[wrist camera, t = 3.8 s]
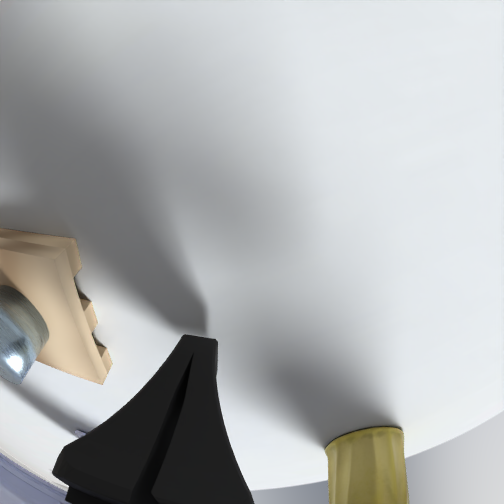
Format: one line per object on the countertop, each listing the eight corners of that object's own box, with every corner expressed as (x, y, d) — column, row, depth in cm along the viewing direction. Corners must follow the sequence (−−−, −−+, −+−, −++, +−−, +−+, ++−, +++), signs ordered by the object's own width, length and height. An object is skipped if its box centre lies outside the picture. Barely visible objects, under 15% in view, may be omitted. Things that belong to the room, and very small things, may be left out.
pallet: (80, 233, 11) (54, 259, 9) (115, 358, 15) (102, 385, 13) (-21, 220, 11) (-44, 238, 10) (20, 326, 15) (5, 346, 14)
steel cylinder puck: (34, 293, 10) (-3, 339, 8) (59, 350, 12) (33, 394, 10) (-13, 278, 11) (-46, 315, 8) (12, 332, 13) (-13, 368, 10)
